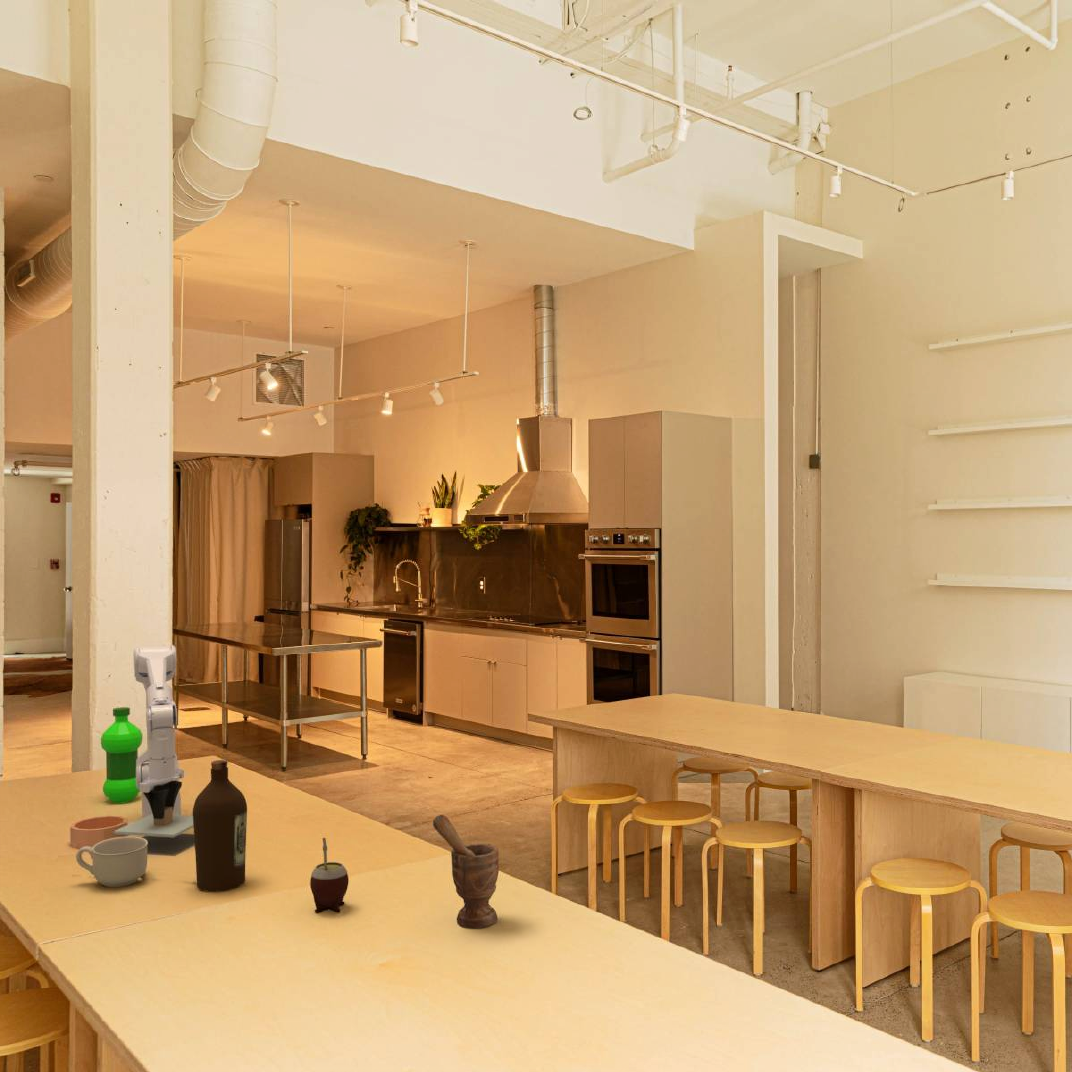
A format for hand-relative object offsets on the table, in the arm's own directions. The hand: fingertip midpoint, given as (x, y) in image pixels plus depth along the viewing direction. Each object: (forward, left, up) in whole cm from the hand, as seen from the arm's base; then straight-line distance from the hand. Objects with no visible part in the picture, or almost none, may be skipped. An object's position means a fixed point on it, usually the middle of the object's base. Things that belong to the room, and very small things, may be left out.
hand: (163, 816), depth 237 cm
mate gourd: (+30, +55, -7) cm, 63 cm away
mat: (0, 0, -7) cm, 7 cm away
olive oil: (+21, +27, -7) cm, 35 cm away
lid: (0, 0, -2) cm, 2 cm away
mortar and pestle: (+32, +83, -7) cm, 89 cm away
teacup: (+24, +4, -7) cm, 25 cm away
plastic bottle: (-36, -36, -7) cm, 51 cm away
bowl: (+1, -16, -7) cm, 17 cm away
